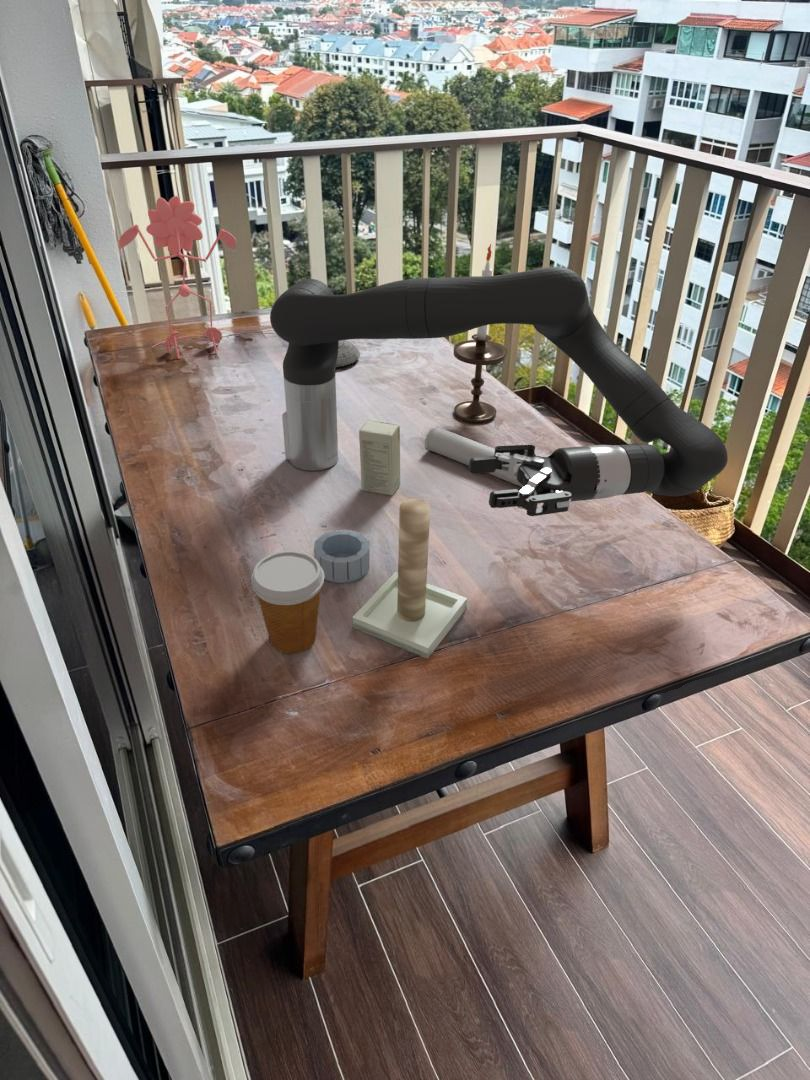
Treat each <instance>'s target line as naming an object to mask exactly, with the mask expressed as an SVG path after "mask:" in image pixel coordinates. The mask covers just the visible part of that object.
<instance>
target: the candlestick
mask: <svg viewBox="0 0 810 1080" xmlns="http://www.w3.org/2000/svg"><path fill="white" fill-rule="evenodd" d="M491 247H492V243H490V244H489V246H488V247H487V251H488V252H487V254H486V263H485V266H484V268H482V271H481V276H493V275H492V274H493V269H492V268H491V265H490V260H491V257H492V249H491ZM476 329H477V330H476V331H477V332H476V333H475V334H473V335H471V338H472V339H469V340H463V341H461V342H458V343H456V344H455V345H454V346H453V351H452V353H453V357H454V358H455V359H456V360H458V361H460V362H462V363H465V364H470V365H475V372H474V377H473V378H472V379H471V380H470V383H471V385H472V386H473V389H471V390H470V394H471V395H472V400H466V401H462V402H460V403H459V402H458V404H456V405H455V406H454V407H453V415H454V417H455V418H456V419H457V420H458V421H461V422H463V423H468V424H472V425H473V424H475V425H476V424H478V425H479V424H480V425H481V424H487V423H490V422H492V421H494V420H495V419H496V417H497V409H496V408H495V406H493V405H492V404H490V403H487V402H485V401H484V402H483V401H480V397H481V396H482V395H483V390H482V387H483V386H484V384H485V379H483V378H482V375H483V373H482V372H483V366H491V365H492V366H493V365H497V364H501V363H502V362H504V361H505V360H506V359H507V355H508V349H507V348H506V347H505V346H504V345H502V344H500V343H497V342H495V341H490V340H492V337H491V336H490V335H488V333H487V330H488V325H485V326H481V327H478V328H476Z"/></svg>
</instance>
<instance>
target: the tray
mask: <svg viewBox="0 0 810 1080" xmlns="http://www.w3.org/2000/svg"><path fill="white" fill-rule="evenodd" d="M397 598H398V571H395V572H394V573H393V574H391V576H389V578H388V579H387V580H386V581H385V582H384V583H383V585H382V586H380V587H379V589H377V591H376V592H374V594H373V595H372V596H371V597H370V598H369V599H368V600H367V601H366V602H365V604H363V605H362V607H360V609H359V610H358V611H357V612H356V613H355V614H354V615H353V616H352V629H355V630H358V631H360V632H362V633H363V634H364V633H365V634H367V635H369V636H372V637H374V638H377V639H379V640H382V641H384V642H386V643H389V644H391V645H393V646H395V647H398V648H401V649H403V650H405V651H407V652H410V653H413V654H414V655H417V656H420V657H422V658H424V659H429V658H430V656H431V655H432V654H433V653H434V651H435V650H436V649H437V647H438V646H439V645H440V644H441V642H442V641H443V640H444V638H445V637H446V635H448V633H449V632H450V631H451V629H452V628H453V626H455V624H456V623H457V621H458V620H459V619H460V618H461V616H462V615H463V613H464V612H465V611H466V610H467V605H468V598H467V597H465V596H462V595H460V594H457V593H454V592H452V591H448V590H446V589H443V588H441V587H439V586H435V585H432V584H430V583H428V582H427V584H426V604H425V615H424V617H423V618H422V619H421V620H418V621H414V622H409V621H405V620H402V619H401V618H400V617H399V616H398V614H397Z"/></svg>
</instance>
